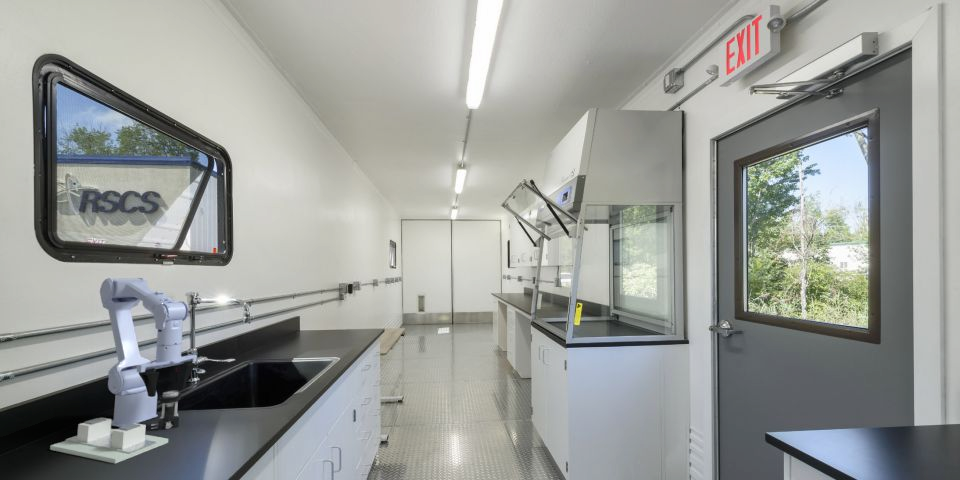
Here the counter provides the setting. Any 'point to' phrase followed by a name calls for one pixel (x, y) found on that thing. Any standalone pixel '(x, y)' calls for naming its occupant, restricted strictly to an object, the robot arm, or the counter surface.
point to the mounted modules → (120, 436)
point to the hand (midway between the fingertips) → (166, 392)
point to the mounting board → (104, 450)
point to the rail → (107, 442)
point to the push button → (169, 410)
